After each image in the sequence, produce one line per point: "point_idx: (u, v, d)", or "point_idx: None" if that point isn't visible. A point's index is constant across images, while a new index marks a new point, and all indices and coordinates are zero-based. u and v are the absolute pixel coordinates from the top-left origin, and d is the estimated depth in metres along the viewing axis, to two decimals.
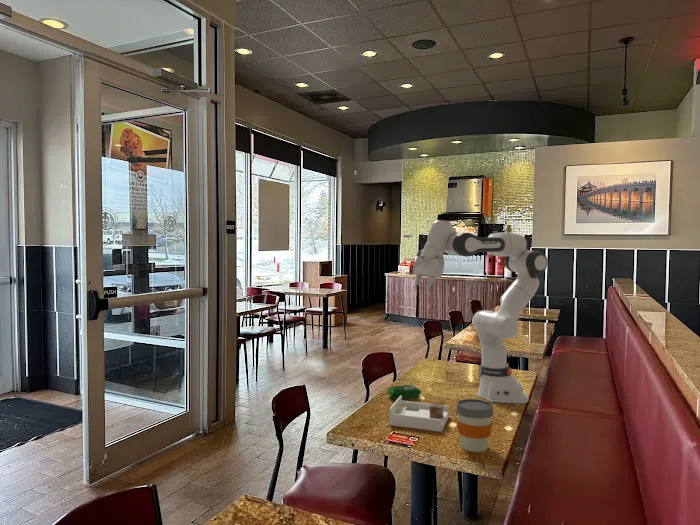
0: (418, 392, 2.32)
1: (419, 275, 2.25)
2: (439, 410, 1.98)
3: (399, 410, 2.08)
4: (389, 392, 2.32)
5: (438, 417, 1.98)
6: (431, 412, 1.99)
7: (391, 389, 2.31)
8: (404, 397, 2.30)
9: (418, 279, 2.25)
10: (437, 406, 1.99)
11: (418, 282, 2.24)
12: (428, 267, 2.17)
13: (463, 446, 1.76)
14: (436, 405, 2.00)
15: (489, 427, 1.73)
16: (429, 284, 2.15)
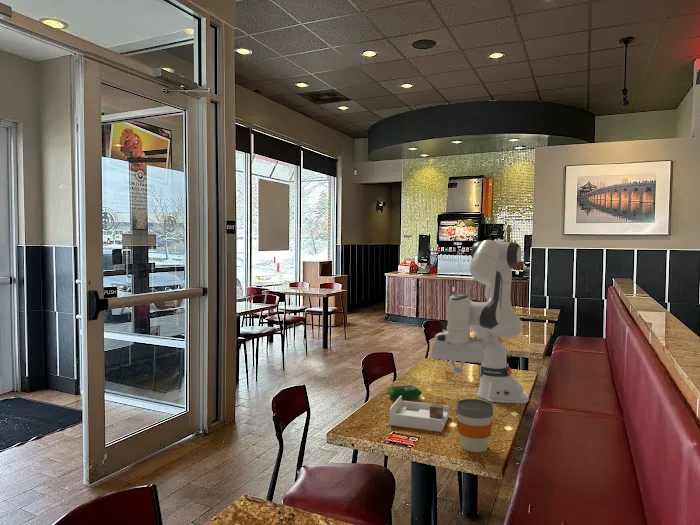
0: (418, 393, 2.31)
1: (454, 361, 1.97)
2: (439, 410, 1.98)
3: (399, 410, 2.08)
4: (389, 392, 2.31)
5: (438, 417, 1.98)
6: (431, 412, 1.99)
7: (391, 389, 2.31)
8: (404, 397, 2.29)
9: (454, 365, 1.97)
10: (437, 406, 1.99)
11: None
12: (465, 353, 1.94)
13: (463, 446, 1.76)
14: (436, 405, 2.00)
15: (489, 427, 1.73)
16: (461, 369, 1.97)
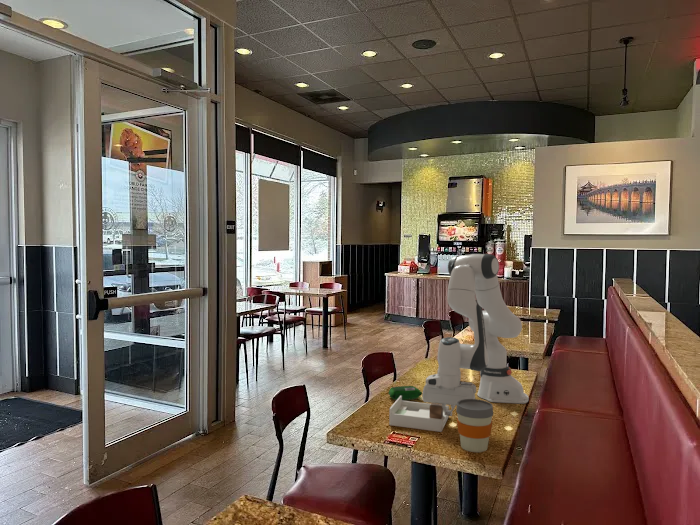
0: (419, 393, 2.30)
1: (445, 404, 1.99)
2: (439, 410, 1.98)
3: (399, 410, 2.08)
4: (389, 392, 2.31)
5: (438, 417, 1.98)
6: (431, 412, 1.99)
7: (391, 389, 2.31)
8: (404, 398, 2.29)
9: (445, 408, 1.99)
10: (437, 406, 1.99)
11: None
12: (456, 397, 1.96)
13: (463, 446, 1.76)
14: (436, 405, 2.00)
15: (489, 427, 1.73)
16: (451, 413, 1.98)
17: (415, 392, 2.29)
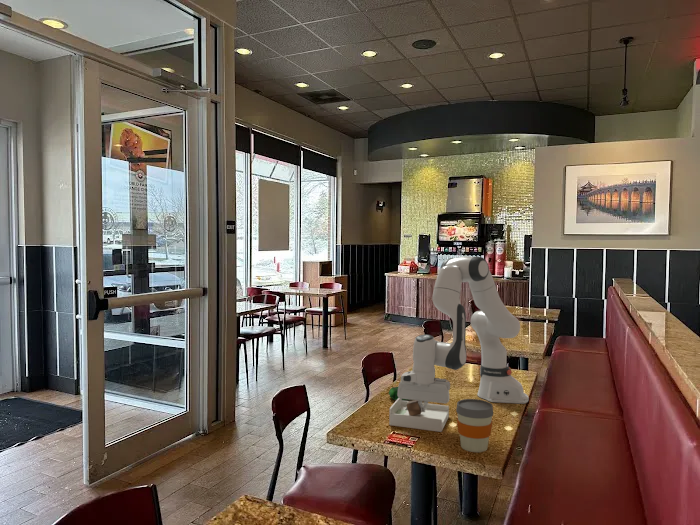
0: None
1: (421, 401, 2.01)
2: (416, 405, 2.00)
3: (399, 410, 2.08)
4: (389, 392, 2.31)
5: (417, 413, 2.00)
6: (409, 410, 2.01)
7: (391, 390, 2.30)
8: None
9: (421, 405, 2.01)
10: (413, 402, 2.02)
11: (424, 409, 2.01)
12: (430, 393, 1.99)
13: (463, 446, 1.76)
14: (412, 402, 2.03)
15: (489, 427, 1.73)
16: (424, 409, 2.01)
17: None
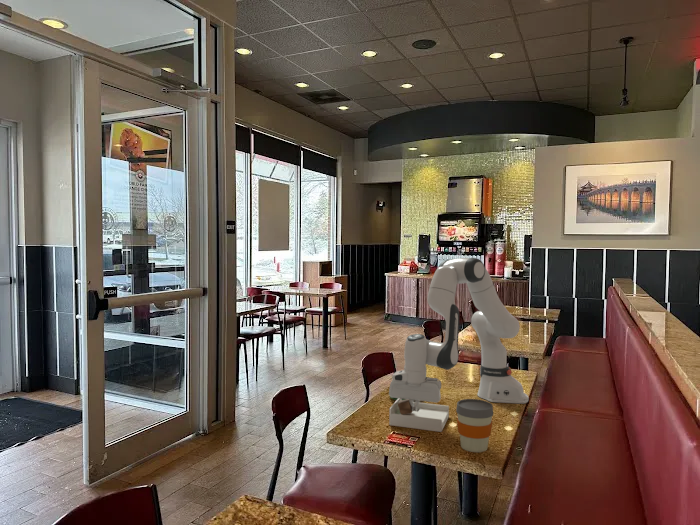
0: None
1: (413, 400, 2.02)
2: (407, 404, 2.01)
3: (399, 410, 2.08)
4: None
5: (408, 411, 2.01)
6: (401, 409, 2.02)
7: None
8: None
9: (413, 404, 2.02)
10: (405, 401, 2.03)
11: (415, 408, 2.02)
12: (421, 392, 2.00)
13: (463, 446, 1.76)
14: (404, 401, 2.04)
15: (489, 427, 1.73)
16: (416, 408, 2.02)
17: None
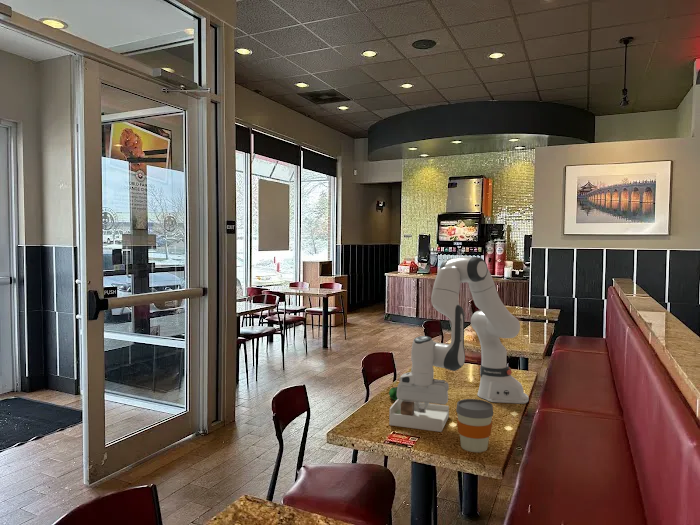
0: None
1: (419, 401, 2.03)
2: (410, 407, 2.01)
3: (399, 410, 2.08)
4: (389, 393, 2.31)
5: (409, 414, 2.01)
6: (402, 409, 2.02)
7: (391, 390, 2.30)
8: None
9: (419, 406, 2.03)
10: (408, 403, 2.02)
11: None
12: (429, 394, 2.00)
13: (463, 446, 1.76)
14: (407, 402, 2.04)
15: (489, 427, 1.73)
16: (425, 410, 2.02)
17: None
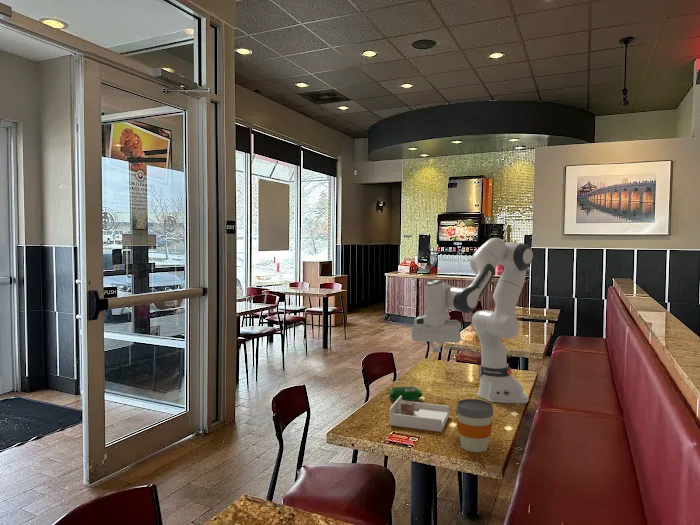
0: (419, 395, 2.28)
1: (433, 341, 2.14)
2: (410, 407, 2.01)
3: (399, 410, 2.08)
4: (389, 393, 2.30)
5: (409, 414, 2.01)
6: (402, 409, 2.02)
7: (391, 390, 2.30)
8: (404, 399, 2.27)
9: (433, 346, 2.14)
10: (408, 403, 2.02)
11: None
12: (443, 334, 2.11)
13: (463, 446, 1.76)
14: (407, 402, 2.04)
15: (489, 427, 1.73)
16: (439, 349, 2.13)
17: (415, 393, 2.27)
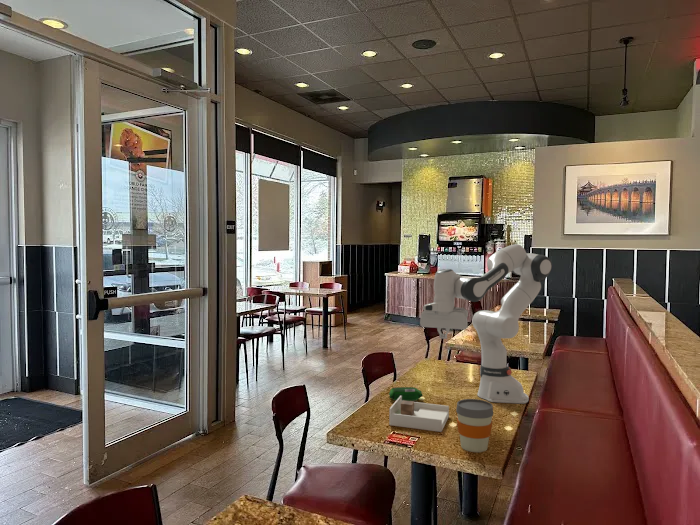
0: (419, 395, 2.27)
1: (440, 328, 2.22)
2: (410, 407, 2.01)
3: (399, 410, 2.08)
4: (389, 393, 2.30)
5: (409, 414, 2.01)
6: (402, 409, 2.02)
7: (391, 390, 2.30)
8: (403, 399, 2.27)
9: (440, 332, 2.22)
10: (408, 403, 2.02)
11: None
12: (450, 321, 2.19)
13: (463, 446, 1.76)
14: (407, 402, 2.04)
15: (489, 427, 1.73)
16: (446, 336, 2.21)
17: (415, 394, 2.27)
